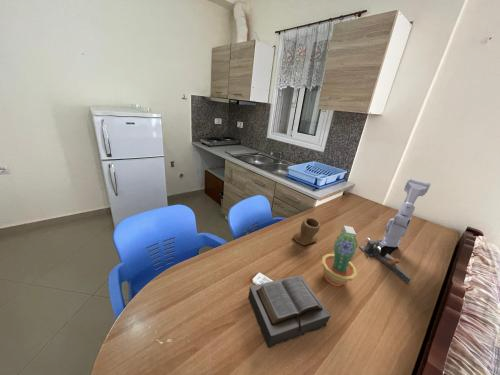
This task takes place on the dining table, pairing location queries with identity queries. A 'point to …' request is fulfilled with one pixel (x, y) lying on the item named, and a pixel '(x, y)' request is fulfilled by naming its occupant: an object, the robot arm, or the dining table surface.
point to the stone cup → (307, 231)
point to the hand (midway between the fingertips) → (384, 255)
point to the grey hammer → (384, 259)
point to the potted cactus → (341, 260)
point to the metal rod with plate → (390, 259)
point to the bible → (286, 309)
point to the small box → (348, 230)
